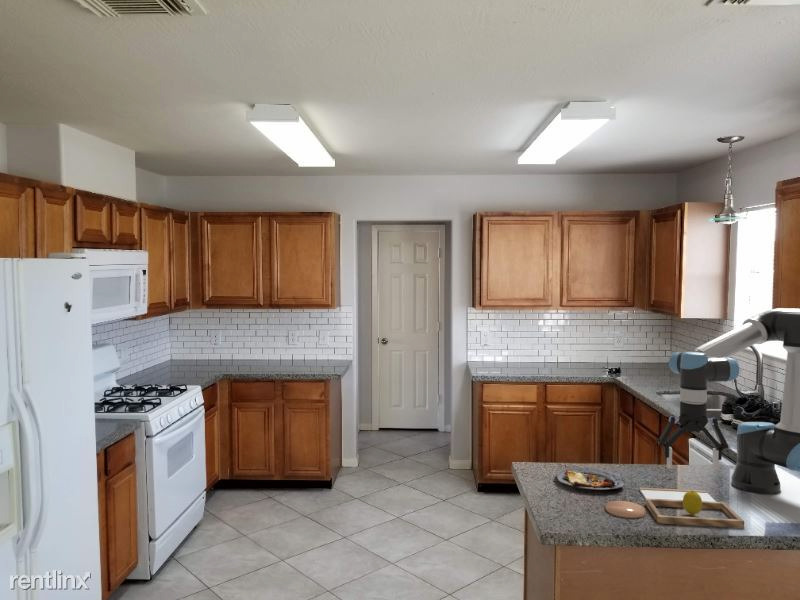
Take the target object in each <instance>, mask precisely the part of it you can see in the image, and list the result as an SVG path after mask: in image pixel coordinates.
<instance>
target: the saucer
mask: <svg viewBox="0 0 800 600" xmlns="http://www.w3.org/2000/svg"><path fill="white" fill-rule="evenodd" d="M605 511H606V512H607V513H608V514H610V515H613V516H616V517H620V518H624V519H625V518H626V519H640V518H643V517H644V516H645V515H646V509H645V507H644V506H642V505H641V504H639V503H636V502H632V501H626V500H625V501H624V500H611V501H608V502H607V503H606V504H605Z"/></svg>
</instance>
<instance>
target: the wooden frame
mask: <svg viewBox="0 0 800 600" xmlns="http://www.w3.org/2000/svg"><path fill="white" fill-rule="evenodd" d="M644 499H645V500H644V501H645V506H646V507H647V509H648V510H649V512H650V513H651V515H652V516H653V518H654V519H655V521H656V522H657V523H658V524H665V525H666V524H667V525H684V526H685V525H687V526H702V527H703V526H704V527H706V526H707V527H718V526H719V527H721V528H736V529H737V528H739V529H745V520H744V519H743V518H742V517H741V516H739V514H737V513H736V512H735V510H734V509H732V508H731V507H730V506H729V505H728V504H727V503H726V502H724V501H723V502H722V501H716V502H708V501H702V509H703V510H704V509H705V510H720V509H722V511H723V513H725V514H726V515H727V517H729V518H717V517H716V518H715V517H701V516H700V517H698V516H697V517H696V516H681V515H662V513H660V511H659V510H658V508H656V507H665V508H667V507H668V508H680V509H681V508H683V509H684V507H683V500H668V499H648V498H644ZM702 509H701V510H702Z"/></svg>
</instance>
